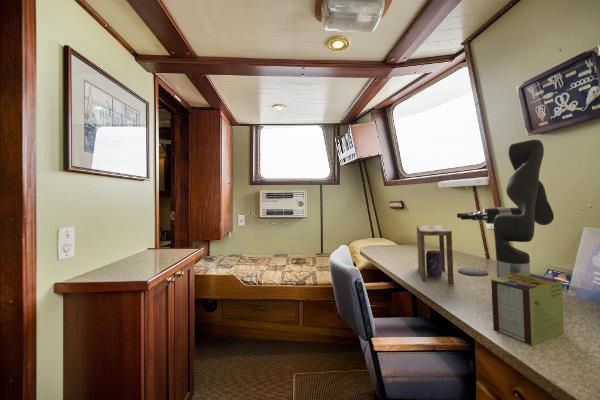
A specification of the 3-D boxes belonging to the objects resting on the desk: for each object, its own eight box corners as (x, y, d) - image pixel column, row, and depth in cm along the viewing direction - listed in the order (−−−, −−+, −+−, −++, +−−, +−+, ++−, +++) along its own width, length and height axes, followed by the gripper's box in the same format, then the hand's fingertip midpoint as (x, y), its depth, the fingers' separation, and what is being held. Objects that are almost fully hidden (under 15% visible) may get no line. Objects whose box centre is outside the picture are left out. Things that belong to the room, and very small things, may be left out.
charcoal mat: (487, 270, 143) (487, 269, 143) (487, 277, 132) (487, 276, 132) (459, 267, 150) (459, 266, 150) (456, 274, 140) (456, 272, 140)
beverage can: (423, 274, 141) (422, 251, 141) (433, 272, 144) (432, 249, 144) (435, 278, 135) (434, 253, 135) (445, 275, 138) (444, 251, 138)
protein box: (564, 333, 79) (562, 280, 79) (531, 346, 73) (529, 289, 73) (523, 319, 89) (522, 271, 89) (491, 330, 83) (489, 278, 83)
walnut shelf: (444, 269, 149) (442, 225, 149) (453, 283, 126) (451, 231, 125) (418, 268, 154) (416, 225, 153) (422, 282, 130) (420, 231, 130)
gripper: (492, 206, 137) (455, 207, 142) (503, 208, 123) (461, 209, 129) (493, 221, 137) (456, 222, 142) (503, 225, 123) (462, 225, 129)
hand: (458, 216), depth 135 cm, fingers open, 8 cm apart
